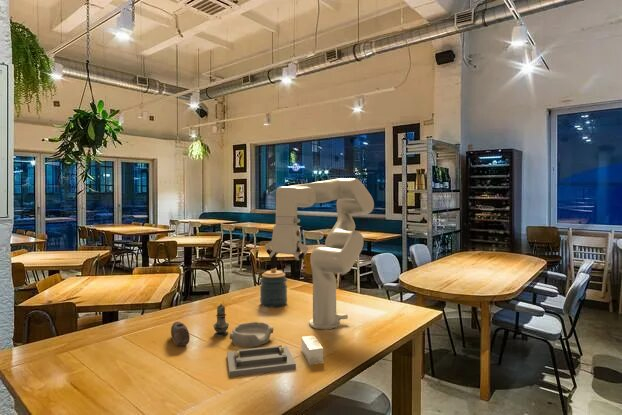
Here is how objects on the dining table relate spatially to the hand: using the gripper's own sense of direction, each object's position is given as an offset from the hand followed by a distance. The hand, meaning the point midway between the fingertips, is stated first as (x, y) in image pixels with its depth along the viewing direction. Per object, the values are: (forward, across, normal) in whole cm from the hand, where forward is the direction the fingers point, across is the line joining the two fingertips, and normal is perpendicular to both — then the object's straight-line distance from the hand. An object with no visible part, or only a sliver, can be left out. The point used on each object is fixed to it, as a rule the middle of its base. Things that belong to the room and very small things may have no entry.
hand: (285, 269), depth 139 cm
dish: (+27, +12, +3) cm, 30 cm away
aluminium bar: (+27, -14, +5) cm, 31 cm away
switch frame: (+27, -1, +17) cm, 32 cm away
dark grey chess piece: (+27, +26, +4) cm, 38 cm away
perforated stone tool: (+27, +35, +16) cm, 47 cm away
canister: (+26, +30, -39) cm, 56 cm away
